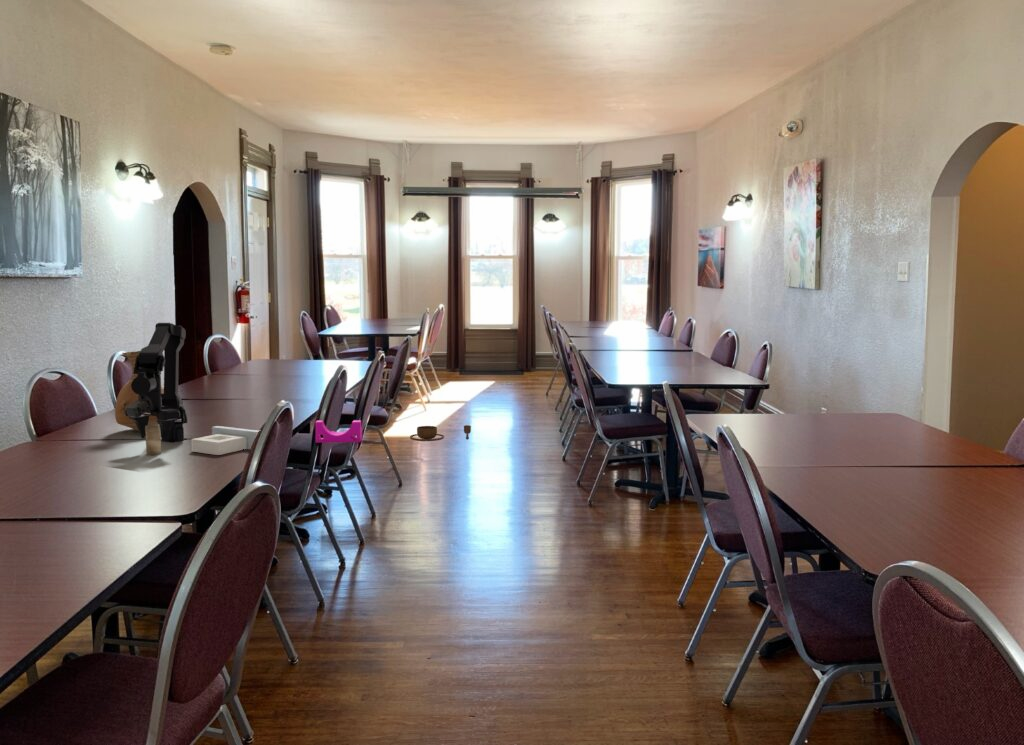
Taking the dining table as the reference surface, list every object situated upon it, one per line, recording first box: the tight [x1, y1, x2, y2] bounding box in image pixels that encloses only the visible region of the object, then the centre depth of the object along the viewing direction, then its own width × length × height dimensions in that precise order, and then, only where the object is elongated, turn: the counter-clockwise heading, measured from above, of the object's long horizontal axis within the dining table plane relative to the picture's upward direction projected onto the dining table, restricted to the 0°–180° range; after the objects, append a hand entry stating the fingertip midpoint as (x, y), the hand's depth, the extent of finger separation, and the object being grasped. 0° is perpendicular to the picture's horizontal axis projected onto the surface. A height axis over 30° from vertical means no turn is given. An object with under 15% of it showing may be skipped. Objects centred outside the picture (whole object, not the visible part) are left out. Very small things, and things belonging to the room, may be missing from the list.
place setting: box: [409, 424, 472, 444], centre depth 302 cm, size 18×20×6 cm
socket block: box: [190, 434, 248, 456], centre depth 282 cm, size 12×12×4 cm
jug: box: [114, 350, 164, 432], centre depth 312 cm, size 20×19×30 cm
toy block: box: [314, 419, 363, 444], centre depth 299 cm, size 15×6×8 cm, turn 92°
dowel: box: [145, 425, 162, 456], centre depth 276 cm, size 4×4×9 cm
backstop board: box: [211, 425, 260, 450], centre depth 289 cm, size 20×2×6 cm, turn 62°
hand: (153, 439), depth 276 cm, fingers open, 9 cm apart
